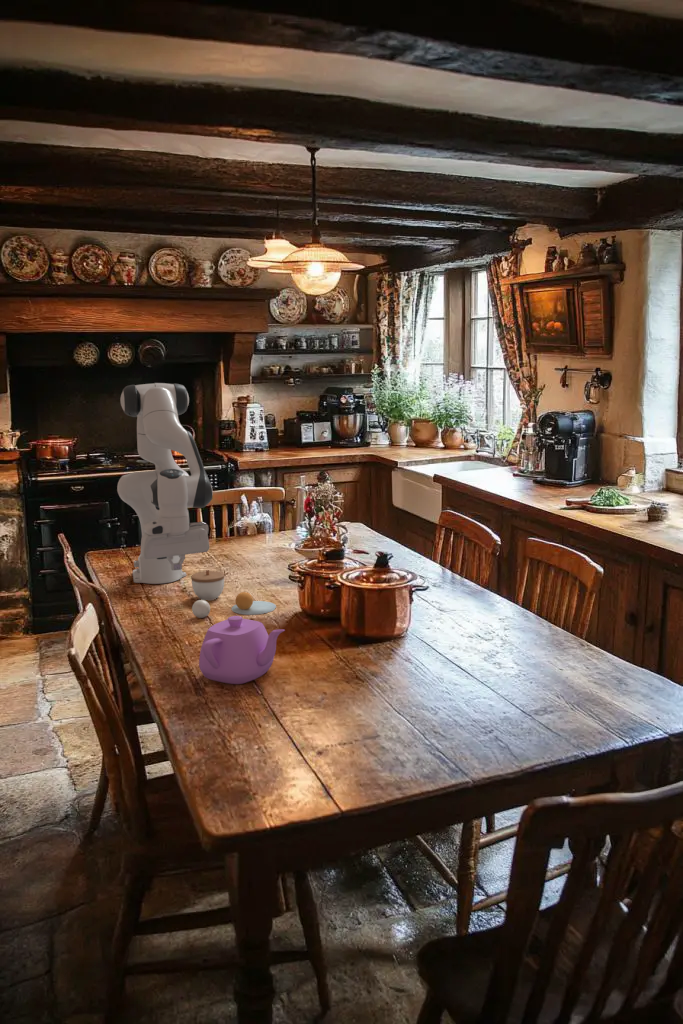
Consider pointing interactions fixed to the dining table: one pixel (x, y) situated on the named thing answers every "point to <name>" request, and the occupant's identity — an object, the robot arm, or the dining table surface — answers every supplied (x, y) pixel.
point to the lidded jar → (208, 584)
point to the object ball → (244, 600)
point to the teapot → (237, 650)
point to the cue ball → (201, 608)
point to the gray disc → (256, 608)
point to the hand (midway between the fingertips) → (176, 569)
